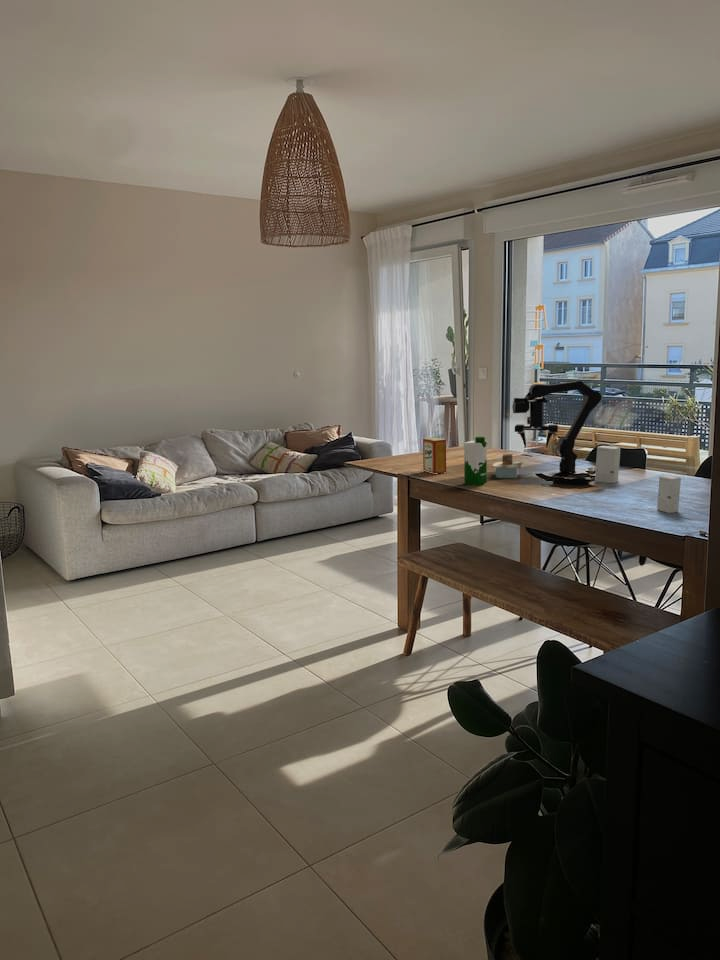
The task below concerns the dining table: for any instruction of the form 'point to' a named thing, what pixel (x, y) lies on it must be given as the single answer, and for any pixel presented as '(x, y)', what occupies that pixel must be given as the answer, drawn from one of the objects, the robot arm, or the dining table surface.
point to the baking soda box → (434, 455)
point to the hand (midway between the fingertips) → (536, 447)
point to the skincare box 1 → (607, 464)
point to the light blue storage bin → (506, 472)
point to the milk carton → (475, 461)
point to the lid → (507, 462)
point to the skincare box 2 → (668, 494)
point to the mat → (534, 481)
